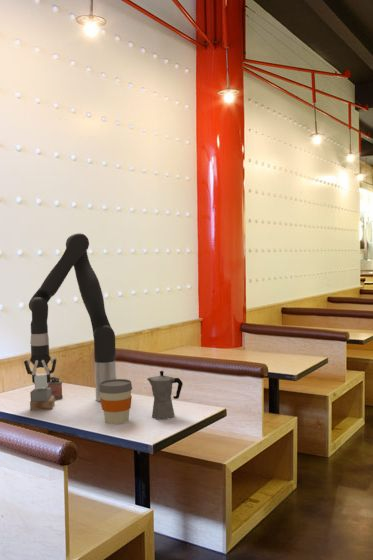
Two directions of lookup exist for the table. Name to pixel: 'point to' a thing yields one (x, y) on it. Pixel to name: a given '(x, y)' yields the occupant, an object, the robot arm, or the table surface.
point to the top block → (40, 381)
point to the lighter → (55, 387)
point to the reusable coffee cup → (116, 400)
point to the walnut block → (42, 404)
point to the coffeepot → (163, 395)
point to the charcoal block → (40, 394)
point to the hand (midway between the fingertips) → (41, 383)
